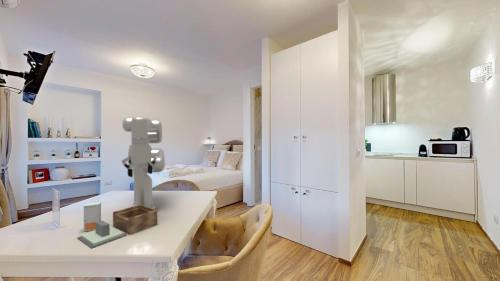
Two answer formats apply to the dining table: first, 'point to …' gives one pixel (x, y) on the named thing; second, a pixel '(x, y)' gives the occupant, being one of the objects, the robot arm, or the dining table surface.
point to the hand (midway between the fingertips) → (140, 175)
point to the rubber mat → (98, 244)
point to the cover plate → (101, 239)
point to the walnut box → (134, 219)
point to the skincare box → (91, 215)
